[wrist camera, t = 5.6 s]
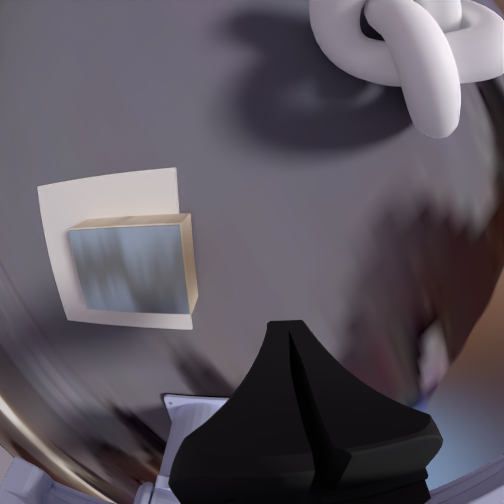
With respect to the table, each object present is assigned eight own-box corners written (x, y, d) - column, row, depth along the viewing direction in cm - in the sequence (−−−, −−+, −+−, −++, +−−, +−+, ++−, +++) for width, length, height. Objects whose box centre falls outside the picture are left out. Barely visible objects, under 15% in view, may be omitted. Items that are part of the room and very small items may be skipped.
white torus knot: (391, -29, 12) (442, -81, 3) (477, 91, 15) (557, 86, 6) (279, 15, 14) (296, -64, 6) (386, 156, 17) (471, 169, 9)
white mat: (192, 327, 22) (192, 329, 22) (69, 318, 22) (67, 320, 22) (176, 167, 18) (175, 167, 17) (39, 186, 18) (37, 186, 18)
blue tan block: (191, 315, 18) (86, 310, 18) (198, 295, 21) (102, 293, 21) (180, 223, 16) (67, 229, 16) (190, 213, 18) (87, 219, 19)
